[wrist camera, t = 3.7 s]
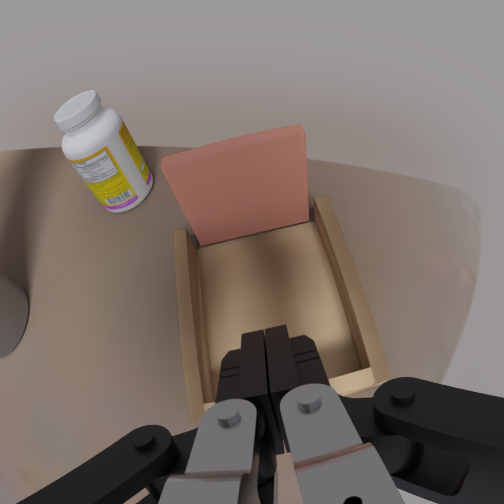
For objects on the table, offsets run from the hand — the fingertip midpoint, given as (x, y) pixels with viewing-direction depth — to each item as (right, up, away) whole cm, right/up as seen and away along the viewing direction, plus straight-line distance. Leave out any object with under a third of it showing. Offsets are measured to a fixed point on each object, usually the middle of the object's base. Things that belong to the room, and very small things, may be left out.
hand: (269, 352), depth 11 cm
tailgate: (0, +5, +16) cm, 17 cm away
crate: (+1, -2, +14) cm, 14 cm away
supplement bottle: (-14, +10, +24) cm, 30 cm away
